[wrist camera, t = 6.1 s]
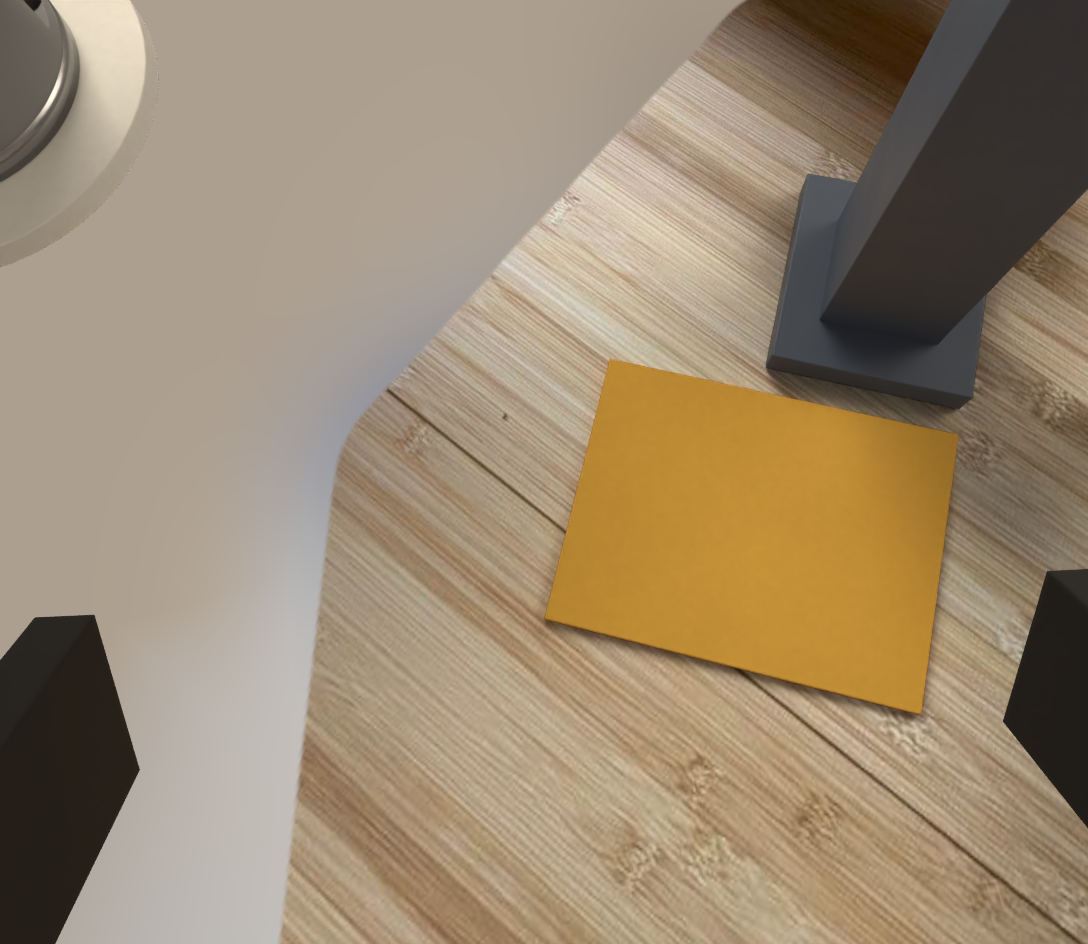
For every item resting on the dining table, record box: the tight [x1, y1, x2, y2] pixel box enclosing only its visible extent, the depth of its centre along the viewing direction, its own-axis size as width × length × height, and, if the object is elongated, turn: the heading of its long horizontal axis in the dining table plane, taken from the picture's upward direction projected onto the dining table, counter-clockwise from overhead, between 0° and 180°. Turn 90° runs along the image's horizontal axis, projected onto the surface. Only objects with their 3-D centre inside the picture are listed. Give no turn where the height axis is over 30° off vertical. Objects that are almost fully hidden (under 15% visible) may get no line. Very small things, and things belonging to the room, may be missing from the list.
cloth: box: [544, 359, 959, 714], centre depth 42 cm, size 18×14×1 cm
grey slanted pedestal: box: [766, 0, 1088, 409], centre depth 31 cm, size 10×11×30 cm
